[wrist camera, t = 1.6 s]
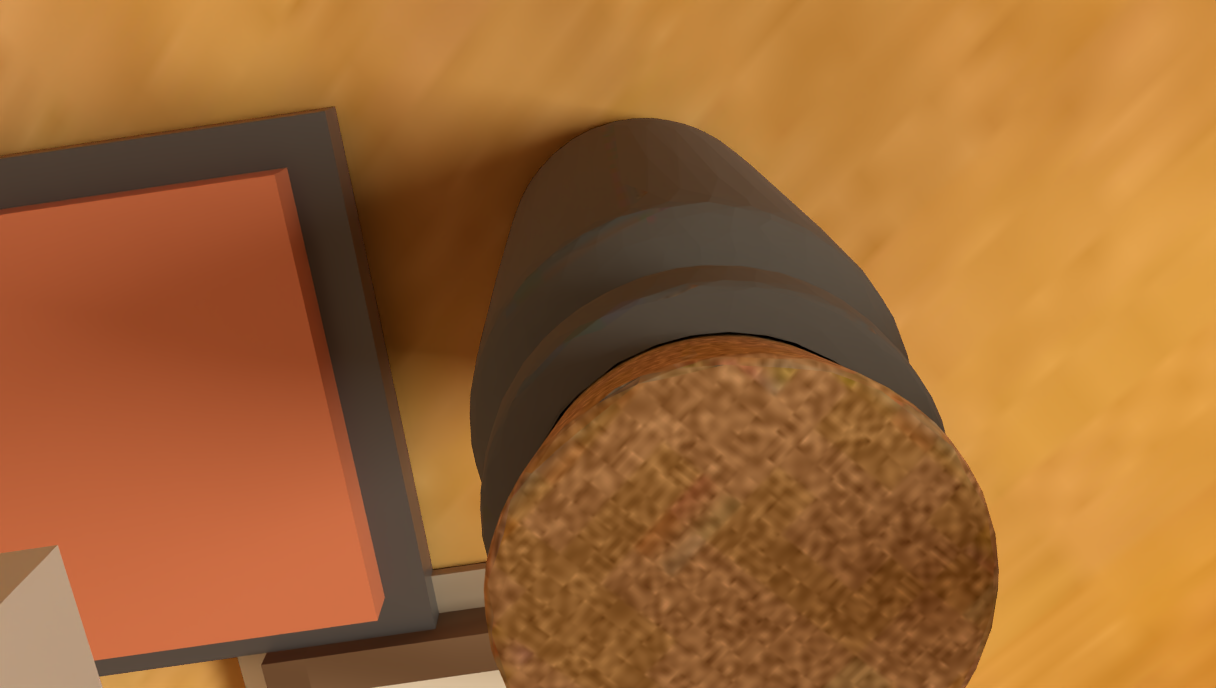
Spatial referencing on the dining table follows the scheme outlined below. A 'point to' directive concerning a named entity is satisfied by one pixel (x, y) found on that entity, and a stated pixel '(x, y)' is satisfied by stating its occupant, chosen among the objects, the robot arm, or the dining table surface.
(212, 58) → the dining table surface
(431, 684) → the frame
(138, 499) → the ink pad
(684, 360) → the cork-lidded jar
